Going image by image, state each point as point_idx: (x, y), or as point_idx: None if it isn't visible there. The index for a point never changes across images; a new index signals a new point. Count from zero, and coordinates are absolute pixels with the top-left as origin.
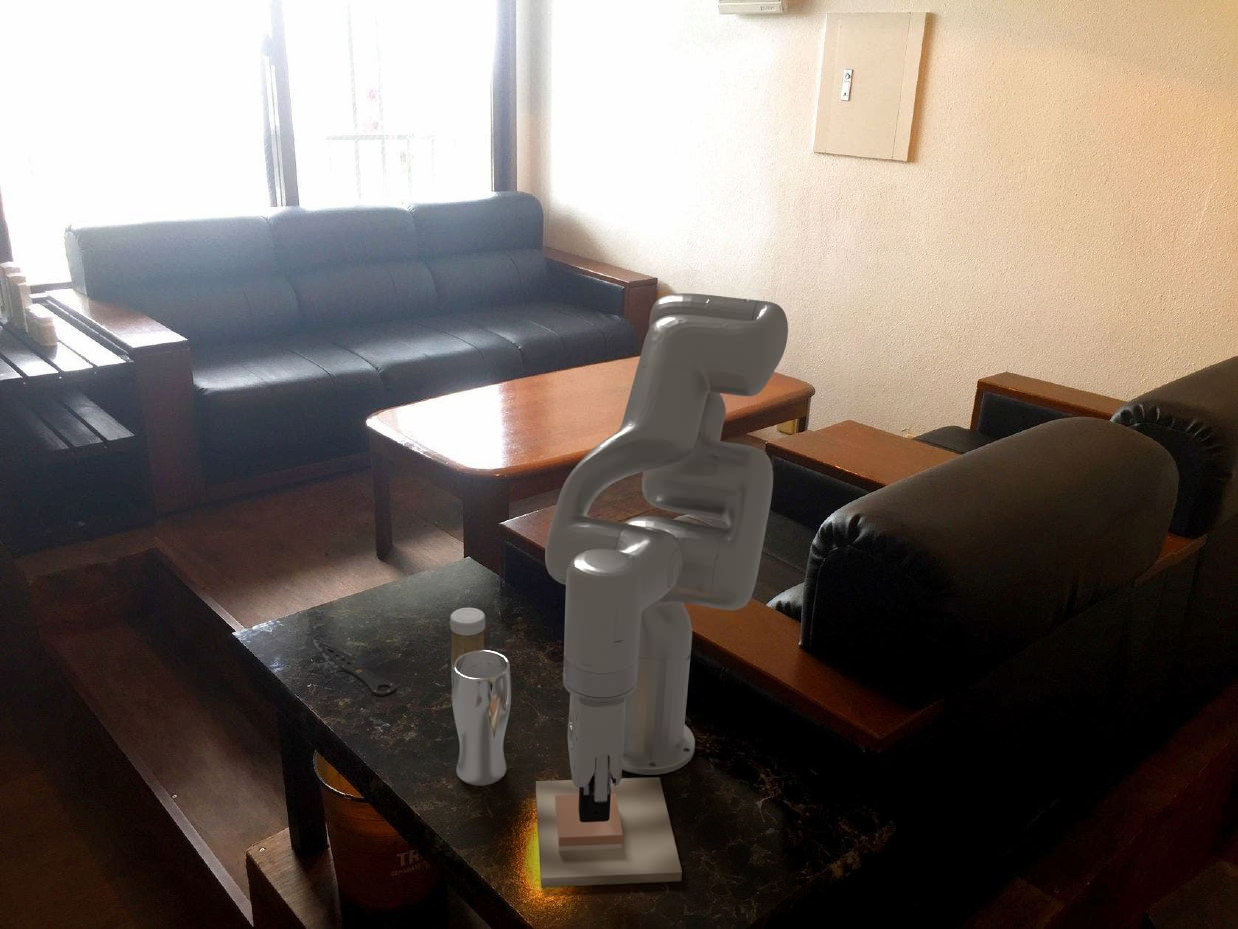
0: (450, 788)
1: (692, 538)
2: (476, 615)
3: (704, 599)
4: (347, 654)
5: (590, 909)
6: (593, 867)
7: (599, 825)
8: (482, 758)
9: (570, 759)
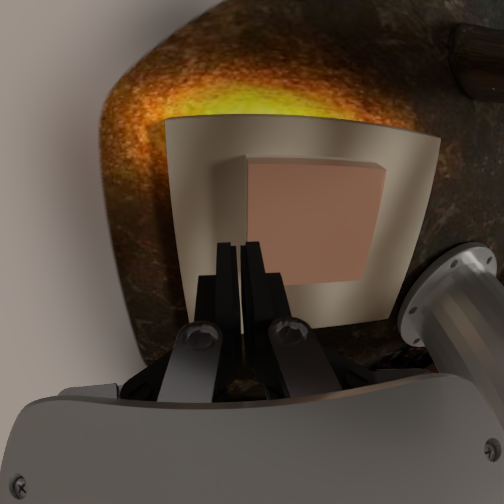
0: (443, 3)
1: None
2: None
3: None
4: None
5: (122, 204)
6: (196, 220)
7: (280, 249)
8: (489, 54)
9: (197, 453)
